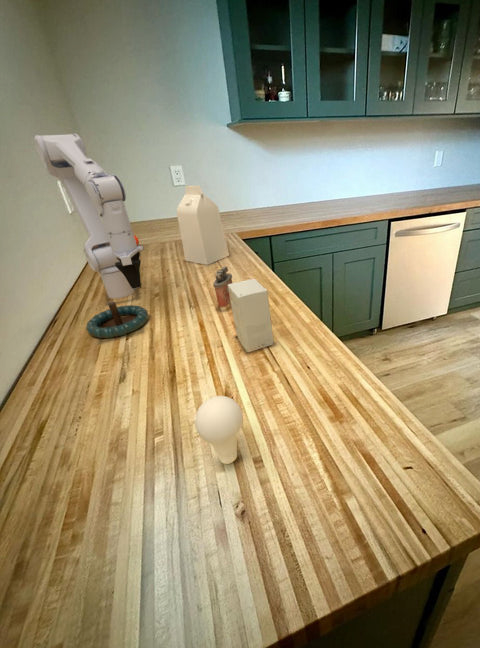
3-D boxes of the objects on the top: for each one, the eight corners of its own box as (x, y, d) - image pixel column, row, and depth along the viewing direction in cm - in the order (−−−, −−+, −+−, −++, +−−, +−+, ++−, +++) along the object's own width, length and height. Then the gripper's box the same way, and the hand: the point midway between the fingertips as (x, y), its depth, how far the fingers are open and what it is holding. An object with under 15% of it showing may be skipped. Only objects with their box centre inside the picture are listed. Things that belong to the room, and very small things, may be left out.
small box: (274, 344, 73) (268, 290, 67) (246, 353, 71) (237, 297, 65) (261, 328, 80) (254, 277, 73) (236, 336, 78) (226, 283, 71)
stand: (102, 325, 86) (92, 300, 82) (140, 317, 89) (131, 292, 85) (100, 342, 79) (88, 315, 75) (141, 332, 82) (132, 306, 78)
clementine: (135, 252, 143) (130, 235, 140) (119, 253, 143) (114, 236, 140) (143, 246, 150) (138, 230, 146) (128, 247, 150) (123, 231, 147)
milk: (229, 255, 131) (216, 183, 118) (207, 264, 123) (191, 189, 110) (207, 251, 137) (193, 183, 124) (185, 260, 129) (168, 188, 116)
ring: (91, 320, 87) (87, 311, 85) (148, 307, 91) (145, 299, 90) (85, 345, 76) (81, 336, 74) (150, 330, 80) (147, 321, 79)
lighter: (227, 311, 89) (220, 275, 84) (215, 310, 90) (208, 275, 85) (238, 298, 96) (232, 264, 91) (227, 297, 96) (221, 264, 92)
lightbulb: (210, 445, 50) (195, 388, 45) (251, 440, 51) (240, 384, 45) (204, 481, 45) (185, 422, 40) (249, 476, 45) (237, 417, 40)
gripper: (137, 235, 76) (154, 290, 83) (136, 223, 88) (151, 272, 94) (103, 240, 74) (123, 296, 80) (106, 227, 85) (124, 277, 92)
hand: (136, 283), depth 87 cm, fingers open, 5 cm apart
